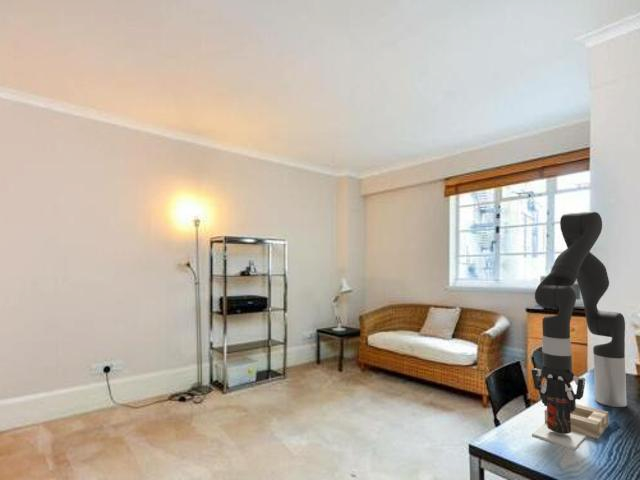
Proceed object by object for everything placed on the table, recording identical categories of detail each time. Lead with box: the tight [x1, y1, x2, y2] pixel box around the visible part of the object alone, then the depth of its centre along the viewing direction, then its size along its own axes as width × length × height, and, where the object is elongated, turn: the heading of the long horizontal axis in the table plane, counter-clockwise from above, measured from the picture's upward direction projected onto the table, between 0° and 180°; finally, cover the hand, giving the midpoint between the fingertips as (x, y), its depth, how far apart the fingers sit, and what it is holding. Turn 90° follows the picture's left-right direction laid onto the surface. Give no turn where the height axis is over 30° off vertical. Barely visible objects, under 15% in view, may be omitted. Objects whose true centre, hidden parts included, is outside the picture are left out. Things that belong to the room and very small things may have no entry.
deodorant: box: [545, 377, 571, 434], centre depth 112 cm, size 6×6×15 cm
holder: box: [544, 403, 610, 439], centre depth 121 cm, size 14×14×4 cm
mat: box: [531, 422, 587, 451], centre depth 112 cm, size 11×11×1 cm
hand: (558, 408), depth 112 cm, fingers closed on deodorant, 6 cm apart
